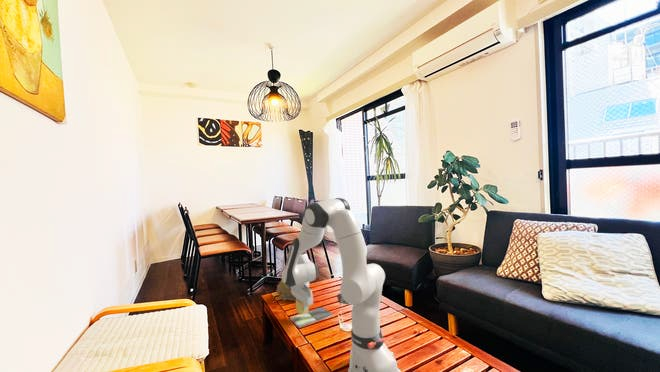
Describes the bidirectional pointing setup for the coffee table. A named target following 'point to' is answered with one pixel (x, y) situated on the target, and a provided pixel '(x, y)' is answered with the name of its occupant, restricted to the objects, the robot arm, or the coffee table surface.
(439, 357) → the coffee table surface
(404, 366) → the coffee table surface
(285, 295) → the rough brown rock
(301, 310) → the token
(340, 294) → the dark grey rock
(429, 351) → the coffee table surface
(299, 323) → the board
